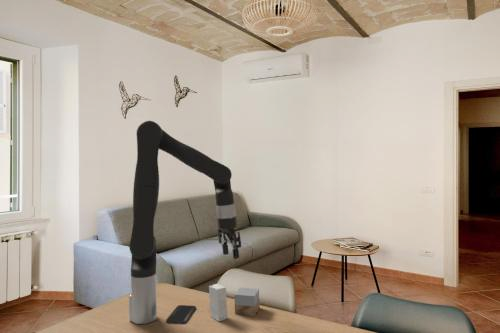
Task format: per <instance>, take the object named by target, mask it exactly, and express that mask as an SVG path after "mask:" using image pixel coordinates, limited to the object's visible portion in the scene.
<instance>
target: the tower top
mask: <svg viewBox="0 0 500 333" xmlns="http://www.w3.org/2000/svg"><path fill="white" fill-rule="evenodd" d="M258 300H259V301H260V289H259V288H249V287H239V288H238V290H237V291H236V292H235V293H234V306H235V305H243V306H255V305H256V303H257V302H258Z"/></svg>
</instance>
